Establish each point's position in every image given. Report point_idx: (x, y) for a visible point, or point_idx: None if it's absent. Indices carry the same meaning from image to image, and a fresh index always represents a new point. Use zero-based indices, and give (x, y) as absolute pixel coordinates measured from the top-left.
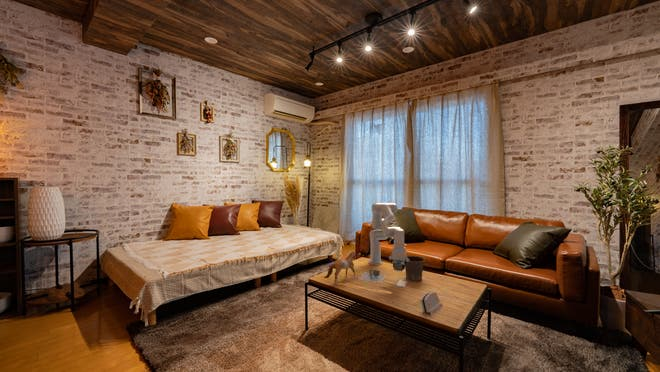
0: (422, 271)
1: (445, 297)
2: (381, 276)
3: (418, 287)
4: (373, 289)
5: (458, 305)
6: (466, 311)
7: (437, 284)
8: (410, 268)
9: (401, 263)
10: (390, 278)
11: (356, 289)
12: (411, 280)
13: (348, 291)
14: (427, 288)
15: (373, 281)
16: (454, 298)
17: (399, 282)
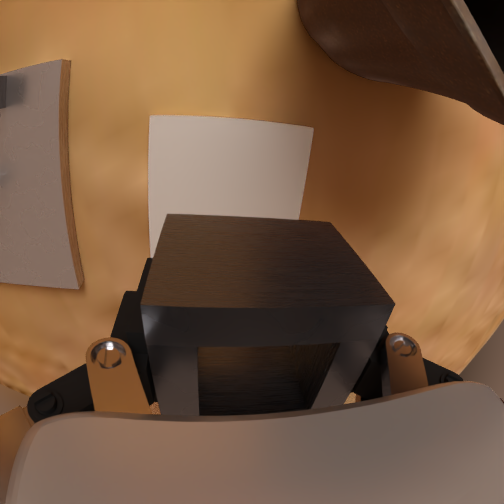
0: (492, 40)
1: (473, 294)
2: (30, 125)
3: (393, 214)
4: (83, 353)
5: (475, 336)
6: (471, 358)
7: (501, 125)
8: (430, 83)
9: (326, 388)
10: (121, 75)
11: (22, 368)
12: (354, 73)
13: (17, 388)
14: (443, 212)
15: (25, 278)
16: (495, 287)
17: (235, 185)
